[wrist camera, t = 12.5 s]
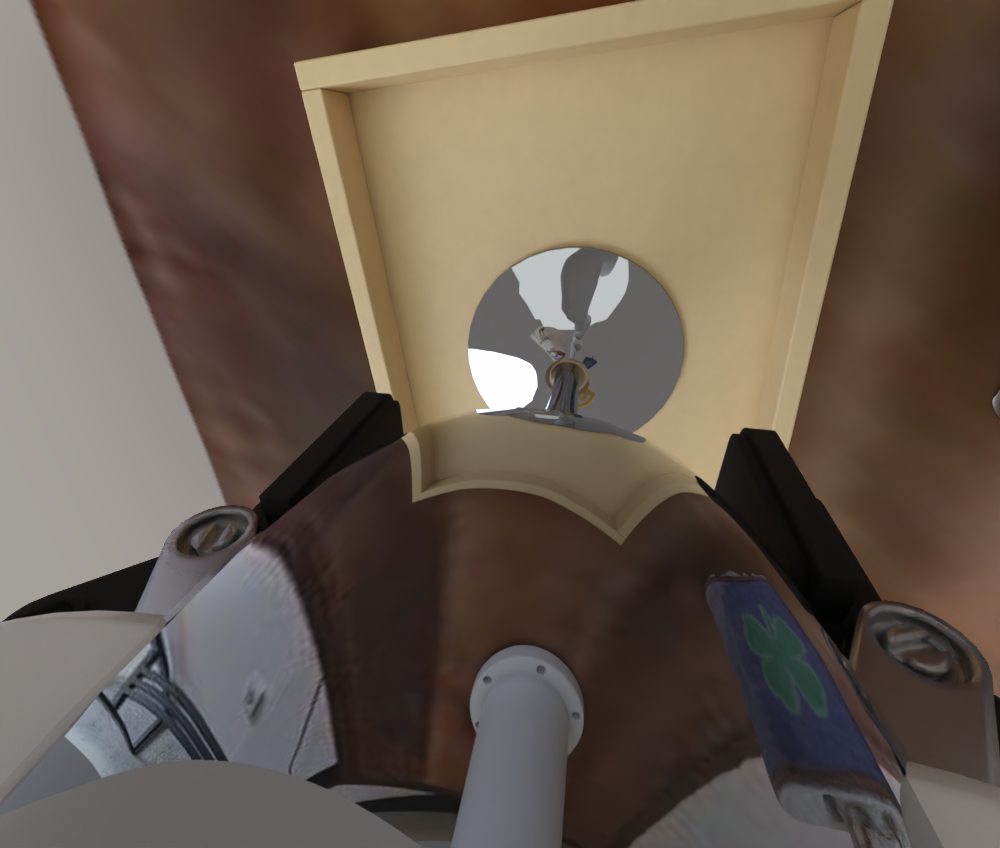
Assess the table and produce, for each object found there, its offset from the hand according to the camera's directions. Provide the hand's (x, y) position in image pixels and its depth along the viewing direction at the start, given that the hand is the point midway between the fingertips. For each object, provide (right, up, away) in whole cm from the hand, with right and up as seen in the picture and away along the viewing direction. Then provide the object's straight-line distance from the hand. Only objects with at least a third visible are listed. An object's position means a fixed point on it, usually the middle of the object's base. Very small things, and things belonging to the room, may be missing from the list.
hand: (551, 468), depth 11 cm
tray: (+1, +4, +6) cm, 7 cm away
